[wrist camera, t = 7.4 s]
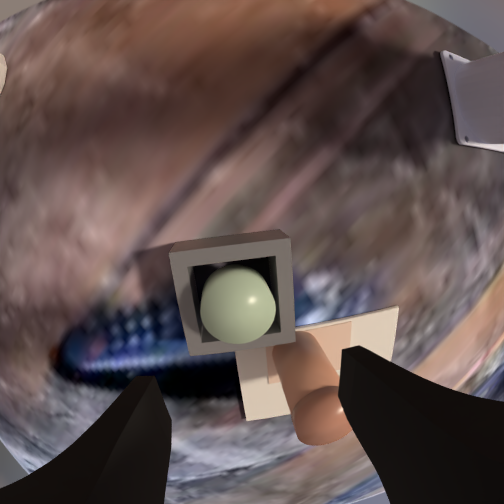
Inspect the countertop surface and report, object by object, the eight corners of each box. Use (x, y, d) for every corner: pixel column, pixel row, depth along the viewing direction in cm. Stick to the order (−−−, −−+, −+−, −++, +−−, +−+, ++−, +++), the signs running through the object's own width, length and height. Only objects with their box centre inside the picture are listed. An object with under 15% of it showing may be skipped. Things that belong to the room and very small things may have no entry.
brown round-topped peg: (318, 325, 18) (364, 393, 11) (319, 365, 19) (357, 434, 12) (269, 335, 18) (295, 412, 11) (273, 374, 19) (297, 451, 12)
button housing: (279, 229, 17) (290, 237, 14) (285, 321, 18) (295, 341, 16) (175, 242, 16) (168, 253, 14) (192, 334, 18) (190, 355, 15)
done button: (265, 260, 15) (272, 271, 13) (270, 320, 16) (277, 338, 14) (197, 268, 15) (194, 281, 13) (207, 329, 16) (207, 347, 14)
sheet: (396, 305, 19) (399, 307, 19) (383, 386, 21) (385, 388, 21) (232, 336, 18) (233, 339, 18) (246, 418, 20) (246, 421, 20)
